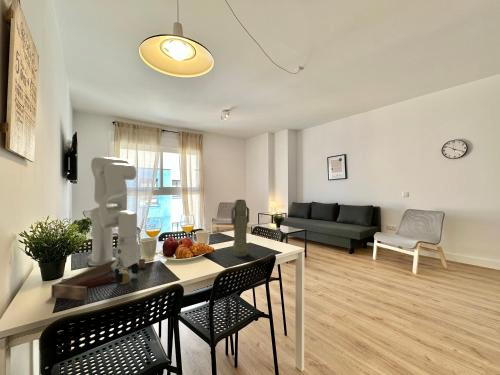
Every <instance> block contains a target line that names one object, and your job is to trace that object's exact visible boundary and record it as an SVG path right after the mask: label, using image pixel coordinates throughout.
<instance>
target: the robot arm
mask: <svg viewBox="0 0 500 375" xmlns="http://www.w3.org/2000/svg"><path fill="white" fill-rule="evenodd" d="M90 162H91V163H90V169H91V173H92V175H93V177H94V194H93V195H94V196H93V197H94V202H95V203H96V204H98V206H96V207H94V208H92V209H91V211H90V213H89V214H90V220H91V230H92V231H91V232H92V234H91V236H92V237H91V238H92V248H91V253H90V254H89V255H87V259H90V261H88V266H92V267H98V266H100V265H103V264H105V263H107V262H110V261H112V260H115V259H116V261H115V262H114V263H113V264H112V265H111V268H112V271H111V272H113V274H115V280H114V281H115V283H118V284H120V283H122V282H123V273H122V271H123V269H124V268H127V269H128V268H130V267H129V266H131V265H132V267H131V274H135V275H137V274H139V268H138V265H139V261H140V258H141V257H142V253H141V252H140V245H139V240H138V214H137V212H134V211H132V210H127V209H128V193H127V191H128V188H127V183H126V180H127V181H134V180H135V179H136V178H137V168H136V167H135V165H134V164H133V163H132V162H131V161H130V160H129V159H126V158H118V157H111V156H110V157H108V156H96V157H93V158H92V159H91V161H90ZM109 205H110V206H109ZM113 228H117V245H116V250H115V257H114V256H113V240H114V239H113ZM119 269H120V270H119Z"/></svg>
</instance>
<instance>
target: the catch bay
mask: <svg viewBox="0 0 500 375" xmlns="http://www.w3.org/2000/svg"><path fill="white" fill-rule="evenodd" d="M115 261H116V259H115V260H112V261H110V262H107V263H105V264H103V265H100V266H94V268H91V269H88V270H86V271H83V272H81V273H78V274H75V275H73V276H70V277H68V278H66V279H63V280H60V281H58V282H55V283H53V284H51V290H50V291H51V293H50V294H51V298H58V299H66V300H67V299H69V300H77V301H86V300H87V299H88V288H87V287H83V286H76V285H78V284H80V283H83V282H87V281H91V280H95V279H98V278H99V277H100V276H103V275H106V274H107V273H110V272H113V271H112V268H111V265H112V264H113V263H114V262H115ZM128 268H132V265H131V266H129V267H128ZM139 268H142V269H144V268H146V259H145V258H140V261H139V265H138V269H139Z"/></svg>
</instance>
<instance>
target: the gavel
mask: <svg viewBox="0 0 500 375" xmlns="http://www.w3.org/2000/svg"><path fill="white" fill-rule="evenodd" d="M119 270H120V268H119ZM122 273H123V282H122V283H119V284H120V285H125V284H128V283H129V282H130V280H131V276H130V271H129V269H128V267H127V268H124V269H123V271H122ZM114 281H115V275H113V274H112V275H109V276H105V277H101V278H99V277H98V278H95V279H92V280H90V281H87V282H83V283H80V284H78V285H76V286H83V287H87V289H88V288H91V287H95V286H99V285H102V284H107V283H112V282H114Z"/></svg>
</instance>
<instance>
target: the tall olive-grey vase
mask: <svg viewBox="0 0 500 375" xmlns="http://www.w3.org/2000/svg"><path fill="white" fill-rule="evenodd" d="M230 210H231V213H230V216H231V217H230V218H231V219H230V221H231V222H230V223H231V224H232V225H233V226H232V227H233V232H234V233H233V244H232V246H233V248H232V250H233V256H234V257H238V258H241V257H242V258H243V257H246V256H248V243H247V230H248V229H247V228H248V224H249V222H250V208H249V207H248V206H247V203H246V200H245V199H236V200H235V201H234V206H233V207H231V209H230Z"/></svg>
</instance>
